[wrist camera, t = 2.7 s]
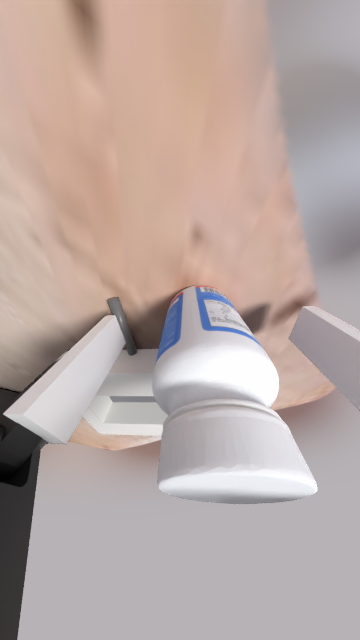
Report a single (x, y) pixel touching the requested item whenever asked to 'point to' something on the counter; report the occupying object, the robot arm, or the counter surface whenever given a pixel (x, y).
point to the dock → (127, 390)
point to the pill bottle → (221, 409)
